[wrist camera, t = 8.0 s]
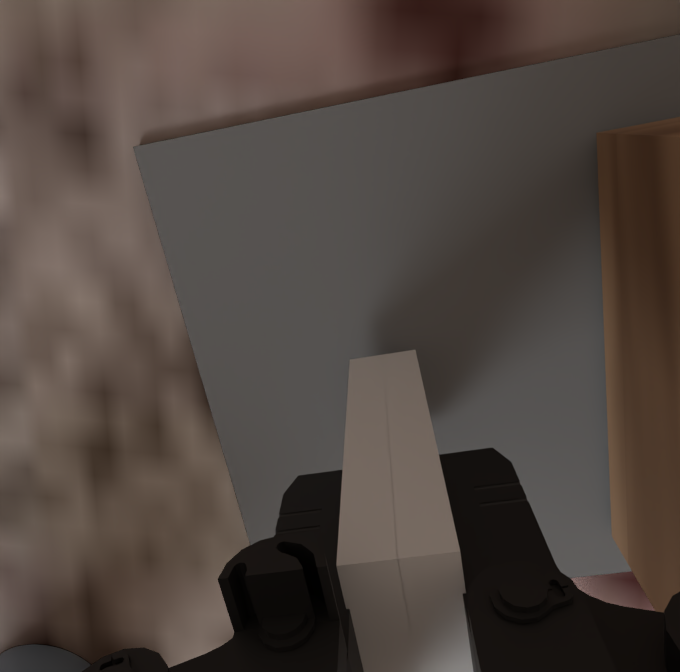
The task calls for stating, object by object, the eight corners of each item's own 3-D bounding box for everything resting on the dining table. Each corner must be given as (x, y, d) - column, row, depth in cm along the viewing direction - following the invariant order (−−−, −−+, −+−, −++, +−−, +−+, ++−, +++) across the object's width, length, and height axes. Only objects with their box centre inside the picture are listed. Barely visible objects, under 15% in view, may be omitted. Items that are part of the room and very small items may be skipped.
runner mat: (271, 604, 17) (270, 611, 17) (137, 146, 13) (132, 147, 12) (1006, 521, 15) (1017, 528, 15) (1145, -62, 11) (1163, -66, 10)
